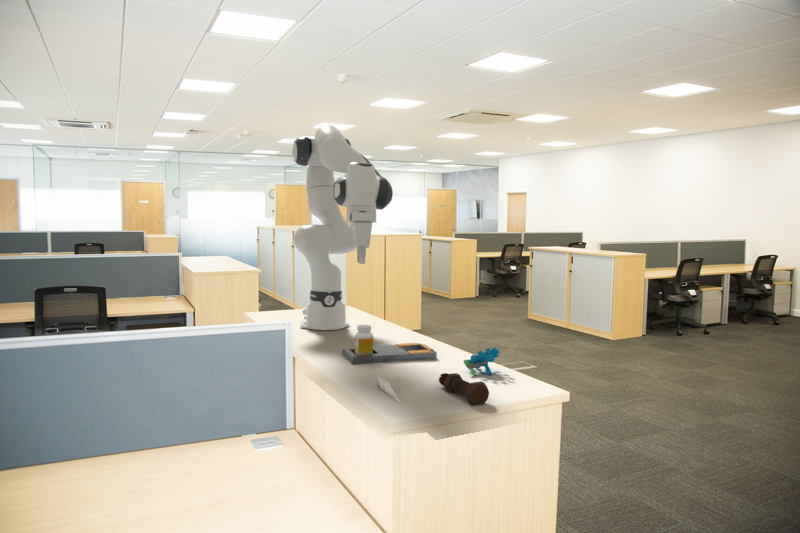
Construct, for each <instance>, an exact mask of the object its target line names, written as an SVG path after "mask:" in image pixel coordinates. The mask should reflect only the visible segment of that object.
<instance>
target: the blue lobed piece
mask: <svg viewBox="0 0 800 533" xmlns="http://www.w3.org/2000/svg"><path fill="white" fill-rule="evenodd" d="M484 351H485V352H484ZM484 351H483V350H479V351H477V354H472V355H471V356H470V359H464V360H463V364H464V366H465V367H466V368H467V369H468V370H470V371H471V374H472V375H473V377H476V376H477V374H476V371H475V370H477V369H480V368H481V367H484V368H485V370H486V373H487V374H488V376H491V375H492V374H493V373H492V370H491V368H490V367H489V363H493V362H494V361H495V359H497V358H499V354H500V353H501V352H500V349H498V348H497V347H492V348H490V347H488V348H485V350H484Z"/></svg>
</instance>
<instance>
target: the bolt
mask: <svg viewBox="0 0 800 533" xmlns="http://www.w3.org/2000/svg"><path fill="white" fill-rule="evenodd" d="M438 382H439V384H440V385H441V386H443V387H444V388H445V390H446V391H447V393H451V394H454V393H458V394H460V395H462V396H464V397H466V399H467V402H468V404H469V405H471V406H472V407H473V406H474V407H478V406H483V405H485V404H486V402H487V401H488V399H489V395H490V391H489V387H488V386H487V385H486V383H485V382H484V381H474V382H469V381H466V380H464V379H463V377H462V376H461V375H460V374H459V373H457V372H456V373H447V372H446V373H441V374H440V375H439V377H438Z"/></svg>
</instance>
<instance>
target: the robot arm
mask: <svg viewBox="0 0 800 533" xmlns="http://www.w3.org/2000/svg"><path fill="white" fill-rule="evenodd" d="M291 153H292V157H293V160H294V162H295V163H296V164H297V165H298V166H302V167H307V166H308V167H307V169H306V182H305V183H306V192H307V193H306V194H307V195H306V196H307V203H308V209H309V212H310V214H311V215H312V216H314V217H315V218H317V219H319V221H320V222H321V223H322V224H306V225H303V226H301V225H300V226H299V227H298V228H297V229H296V231H295V233H294V235H293V241H294V246H295V248H296V249H297V250H298V251H299V252H300V254H302V255H303V256H304V257H305V259H306V261H307V262H308V264H309V268H310V275H311V276H310V277H311V289H310V292H309V302H308V303H307V306H306V307H304V308H303V309H302V315H303V316H304V318H301V320H300V321H301V322H300V328H301V329H309V330H316V331H335V330H342V329H343V328H348V327H350V323H349V322H347V319H346V316H347V315H346V305H345V304H344V302H342V298H343V294H342V293H343V292H342V291H343V290H341V289H342V286H341V285H342V283H341V282H342V271H341V270H340V268H339V266H337V265H336V264H334V263H332V262H331V260H330V255H335V254H336V255H343V254H349V253H351V252H352V253H353V252H354V251H355V250H356V255H357V256H356V260H357V263H358V264H360V265H363V264H364V265H365V264H366V254H367V249H368V248H370V244H371V237H372V229H373V223H375V224H376V223H377V210H384V209H385V208H386V207H387V206H388V205H389V204H390V203H391V202H392V199H393V193H394V192H393V187H392V185H391V183H390V182H389V181H388V179H387V178H385V177H384V176H382V175H381V173H379V171H378V170H377V169H376V168H375V166H374V165H373V163H371V162H370V161H369V160H368V158H367V157H366V156H364V155H363V154H361V153H359V151H358V150H356V149H354V148H353V147H352V145H351V142H350V140H349V139H348V138H345V136H344V135H343V133H342V132H341V131H340V130H339V129H338V128H337V127H335V126H334V125H331V124H330V125H329V124H325V125H322V126H320V127H319V128H318V129H316V131H315V134H314V136H301V137H298V138H296V139H295V140H294V142H293V144H292V152H291ZM334 172H335V173H341V174H344V175H343V176H340V177H338V178H337V179H336V180H335V176H334ZM339 206H340V207H346V219H345V218H344V216H343V213H342V212H341V210H340V207H339ZM349 223H350V224H349Z"/></svg>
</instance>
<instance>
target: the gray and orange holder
mask: <svg viewBox="0 0 800 533" xmlns="http://www.w3.org/2000/svg"><path fill="white" fill-rule="evenodd" d="M341 350H342V351H341V355H342V356H343V357H344V358H346V360H347V361H349V362H350V364H352V365H361V364H377V363H379V364H380V363H391V362H392V363H394V362H396V363H397V362H408V361H409V362H411V361H422V360H424V361H425V360H436V359H437V358H438V357H437V356H438V354H437V351H435V350H434V349H433V348H432V347H430V346H428V345H426V344H423V343H418V342H407V343H396V344H389V345H388V344H387V345H373V354H363V355H355V346H350V347H349V346H348V347H342V349H341Z"/></svg>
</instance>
